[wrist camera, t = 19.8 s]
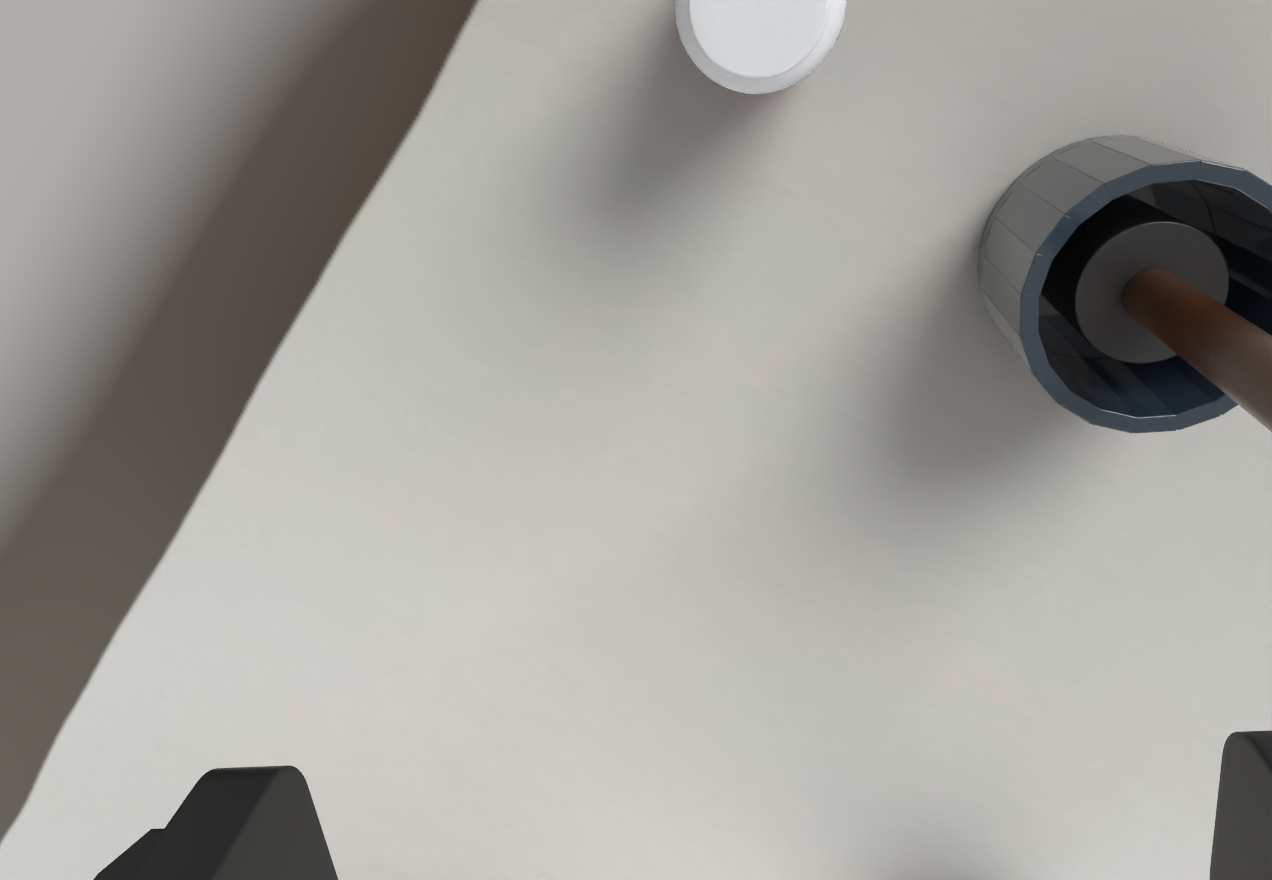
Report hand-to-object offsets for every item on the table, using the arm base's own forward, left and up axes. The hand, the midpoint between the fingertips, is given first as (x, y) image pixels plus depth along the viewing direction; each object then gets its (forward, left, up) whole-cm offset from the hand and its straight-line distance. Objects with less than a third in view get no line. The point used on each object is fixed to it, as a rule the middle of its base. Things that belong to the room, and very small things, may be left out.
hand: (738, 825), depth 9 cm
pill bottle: (-7, +1, -33) cm, 34 cm away
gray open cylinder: (+3, +13, -33) cm, 36 cm away
